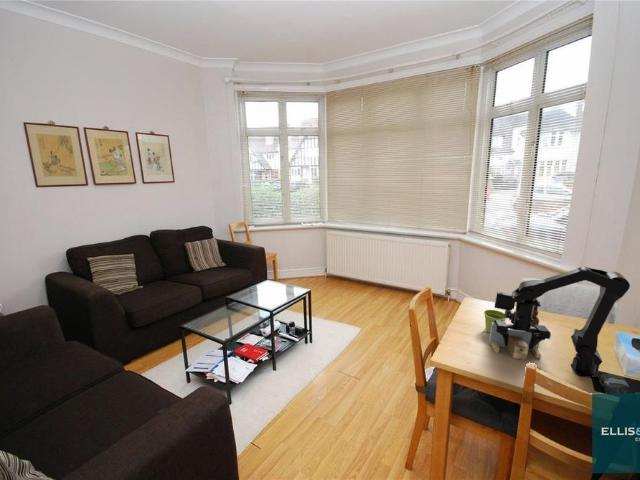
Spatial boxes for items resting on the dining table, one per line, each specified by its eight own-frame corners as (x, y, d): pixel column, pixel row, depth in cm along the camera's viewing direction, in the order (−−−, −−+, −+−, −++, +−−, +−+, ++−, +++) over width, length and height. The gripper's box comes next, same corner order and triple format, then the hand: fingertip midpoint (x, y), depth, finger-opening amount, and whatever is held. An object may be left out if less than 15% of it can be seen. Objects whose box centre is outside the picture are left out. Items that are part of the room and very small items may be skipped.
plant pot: (477, 328, 144) (479, 312, 142) (489, 323, 148) (492, 307, 146) (495, 338, 136) (498, 321, 134) (508, 333, 140) (511, 316, 138)
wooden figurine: (537, 330, 142) (543, 300, 138) (535, 335, 138) (541, 305, 134) (520, 325, 146) (525, 296, 143) (518, 330, 142) (523, 300, 138)
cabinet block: (520, 350, 128) (522, 337, 126) (526, 361, 121) (529, 348, 119) (507, 348, 129) (509, 335, 128) (512, 359, 122) (514, 346, 121)
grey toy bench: (536, 349, 128) (540, 328, 126) (542, 358, 122) (546, 336, 120) (488, 342, 133) (491, 322, 130) (492, 351, 127) (495, 330, 124)
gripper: (542, 306, 125) (536, 340, 129) (492, 301, 130) (487, 333, 134) (554, 320, 115) (547, 355, 119) (499, 313, 120) (494, 348, 124)
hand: (517, 347), depth 124 cm, fingers open, 8 cm apart
